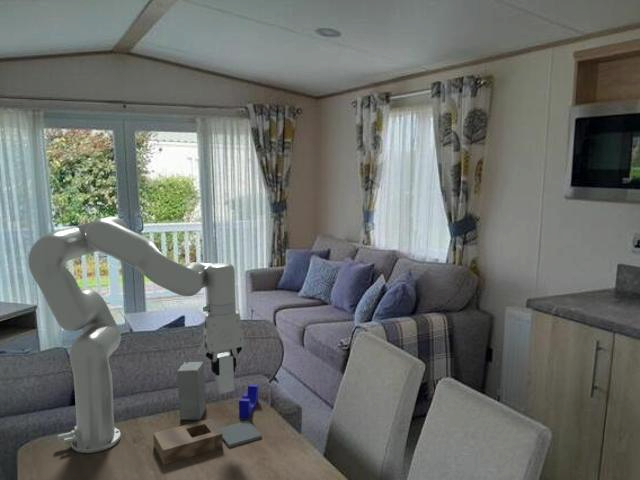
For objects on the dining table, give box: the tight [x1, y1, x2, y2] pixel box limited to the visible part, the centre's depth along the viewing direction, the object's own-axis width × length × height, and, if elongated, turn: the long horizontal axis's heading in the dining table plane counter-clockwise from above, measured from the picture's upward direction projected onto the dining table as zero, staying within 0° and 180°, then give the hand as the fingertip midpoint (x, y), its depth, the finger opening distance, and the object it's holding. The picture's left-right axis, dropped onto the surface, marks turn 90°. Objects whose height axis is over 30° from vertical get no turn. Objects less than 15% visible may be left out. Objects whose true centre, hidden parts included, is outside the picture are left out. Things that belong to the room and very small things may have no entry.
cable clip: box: [238, 383, 259, 420], centre depth 159 cm, size 12×4×6 cm, turn 173°
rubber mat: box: [217, 419, 263, 448], centre depth 144 cm, size 10×10×1 cm
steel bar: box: [214, 351, 235, 395], centre depth 139 cm, size 4×4×10 cm
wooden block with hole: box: [153, 418, 223, 465], centre depth 137 cm, size 16×10×4 cm, turn 122°
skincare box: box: [176, 361, 207, 421], centre depth 155 cm, size 8×7×16 cm
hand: (224, 371), depth 139 cm, fingers closed on steel bar, 4 cm apart
